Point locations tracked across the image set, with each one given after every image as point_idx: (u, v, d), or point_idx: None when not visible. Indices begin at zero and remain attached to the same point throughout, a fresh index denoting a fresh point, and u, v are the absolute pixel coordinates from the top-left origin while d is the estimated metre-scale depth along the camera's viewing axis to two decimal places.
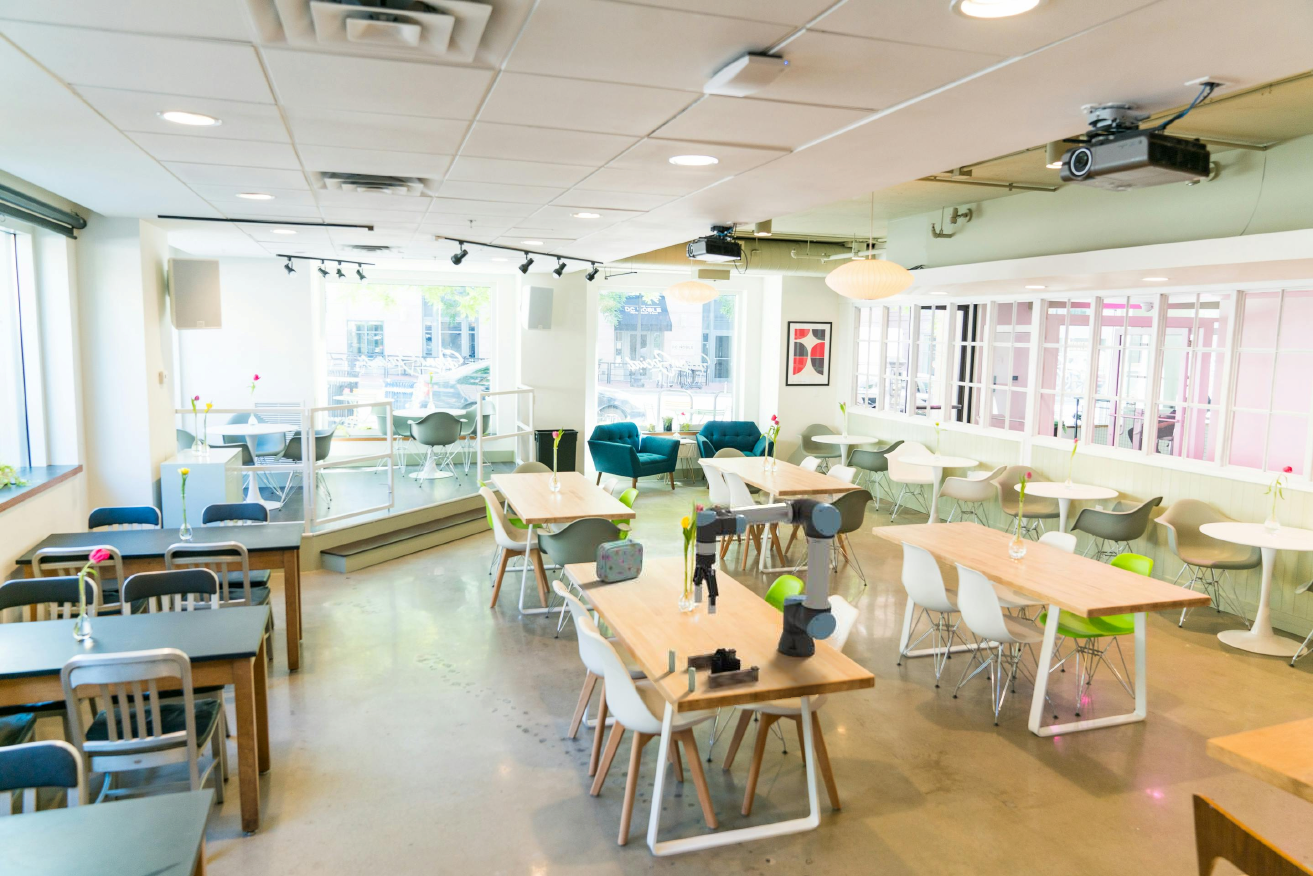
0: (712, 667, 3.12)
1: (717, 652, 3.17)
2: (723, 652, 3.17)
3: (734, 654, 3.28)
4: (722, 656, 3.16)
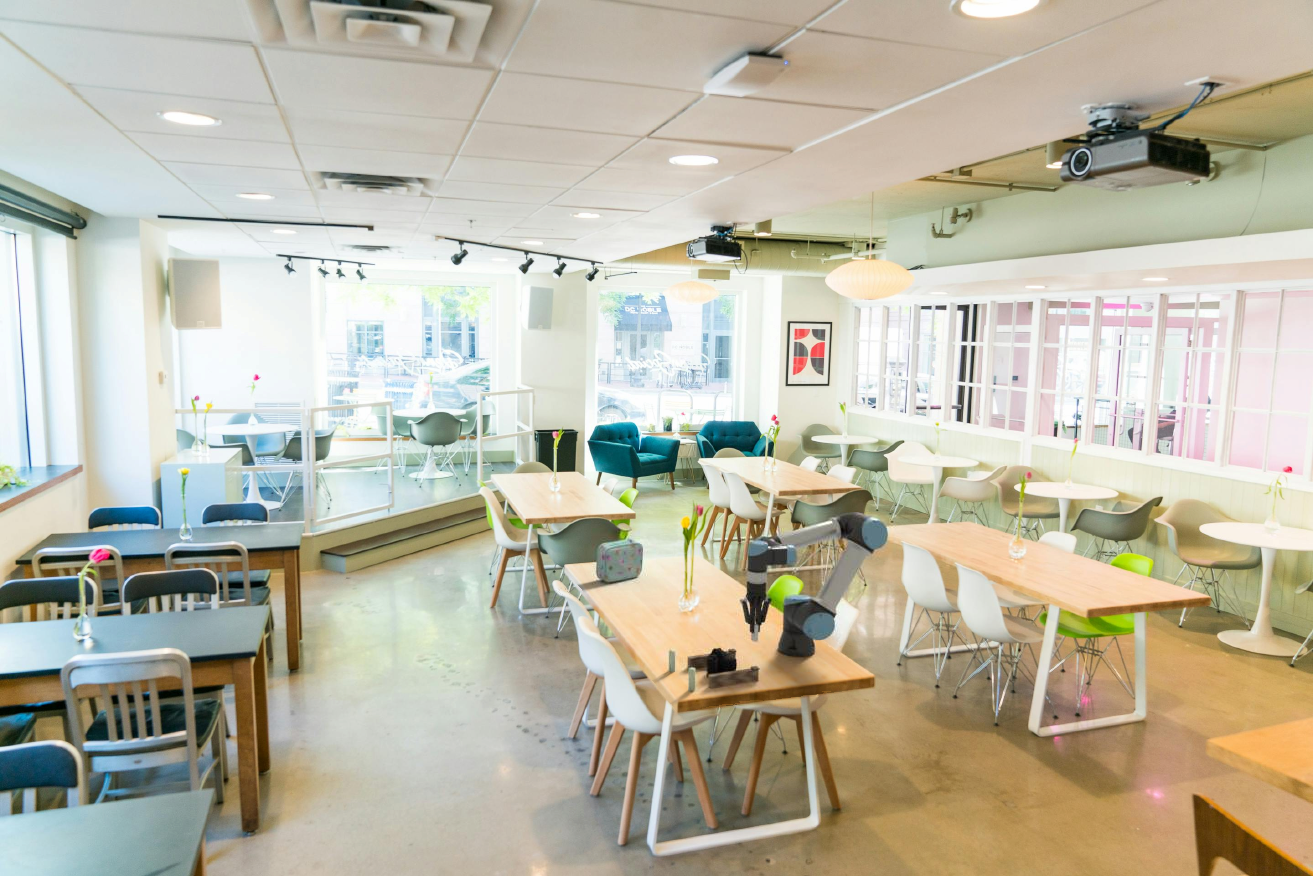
0: (708, 667, 3.12)
1: (713, 652, 3.18)
2: (719, 652, 3.17)
3: (734, 654, 3.28)
4: (718, 656, 3.16)
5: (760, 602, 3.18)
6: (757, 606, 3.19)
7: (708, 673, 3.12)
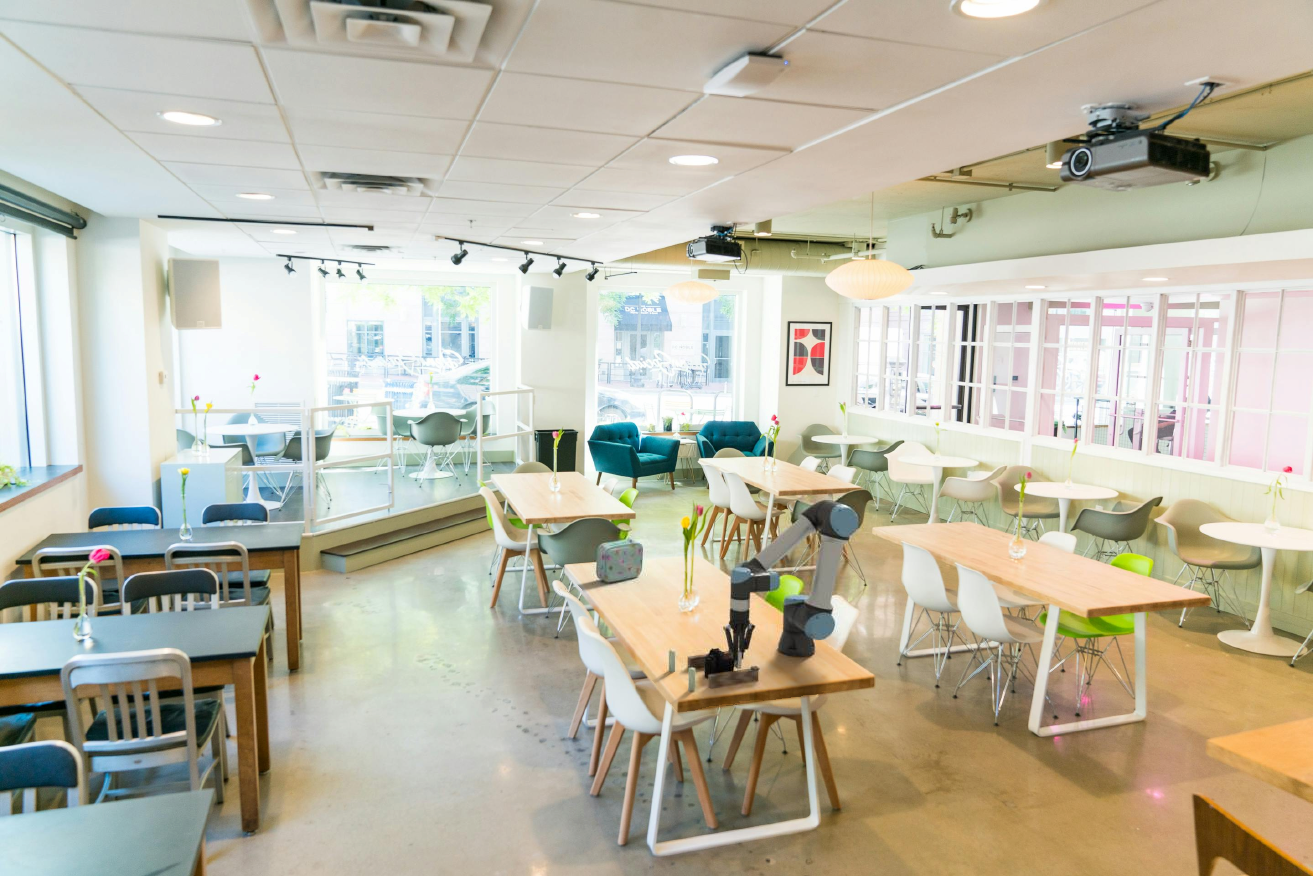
0: (706, 667, 3.12)
1: (711, 652, 3.18)
2: (717, 652, 3.17)
3: None
4: (716, 656, 3.16)
5: (743, 629, 3.16)
6: (740, 633, 3.18)
7: (706, 673, 3.12)
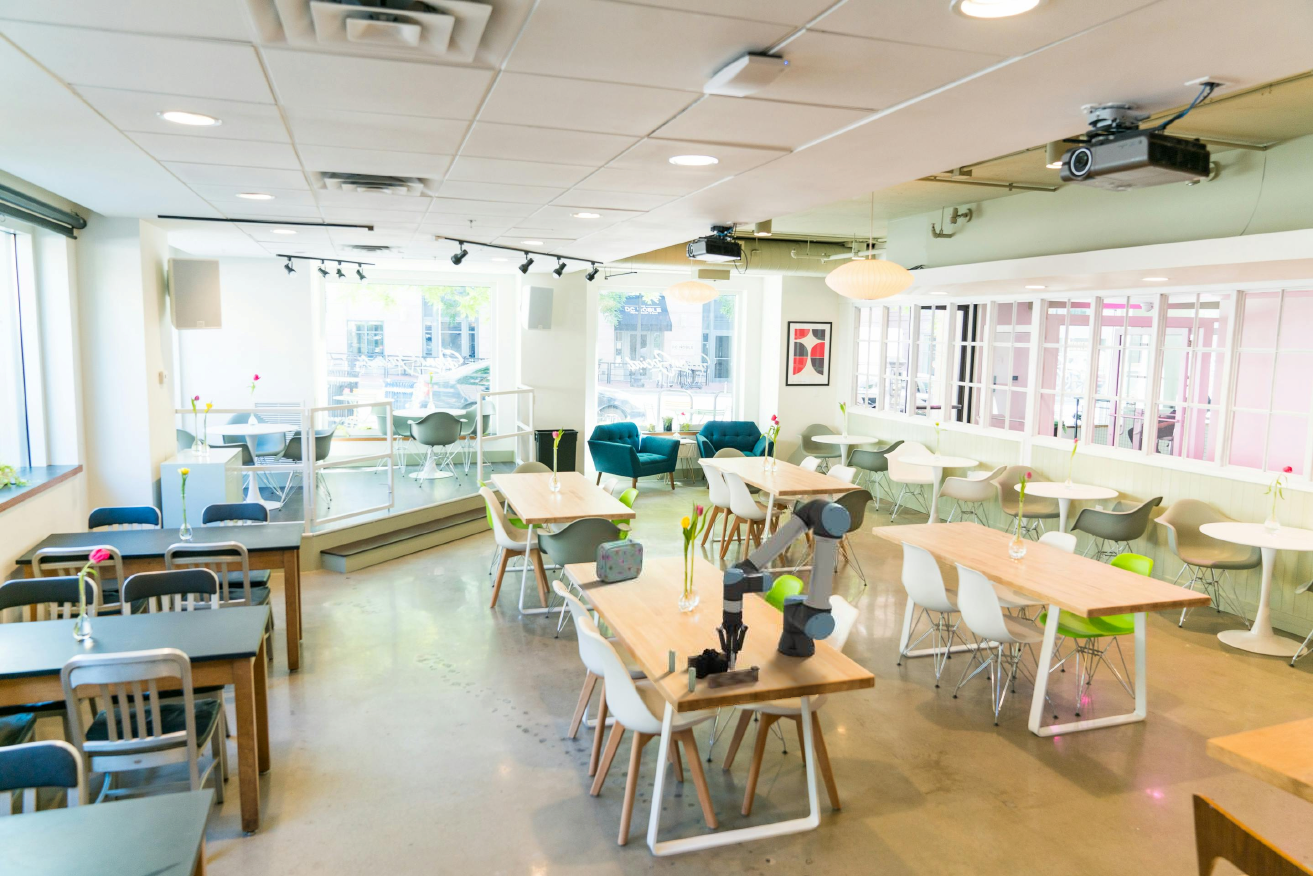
0: (696, 666, 3.12)
1: (704, 652, 3.17)
2: (710, 652, 3.16)
3: None
4: (708, 656, 3.16)
5: (736, 630, 3.15)
6: (733, 634, 3.17)
7: (696, 673, 3.13)
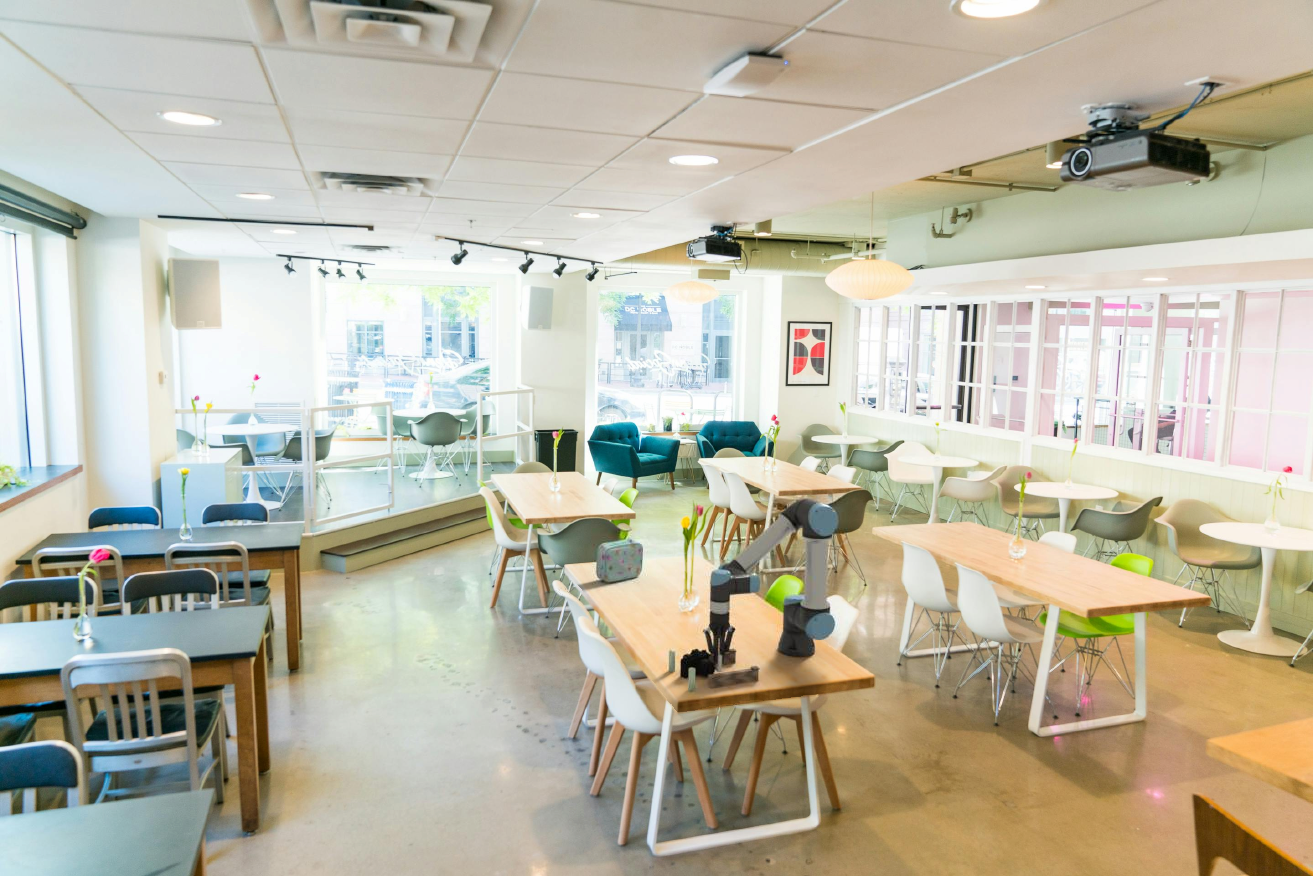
0: (680, 665, 3.13)
1: (692, 652, 3.17)
2: (697, 653, 3.16)
3: (734, 654, 3.28)
4: (695, 656, 3.15)
5: (723, 632, 3.13)
6: (720, 636, 3.15)
7: (680, 671, 3.13)
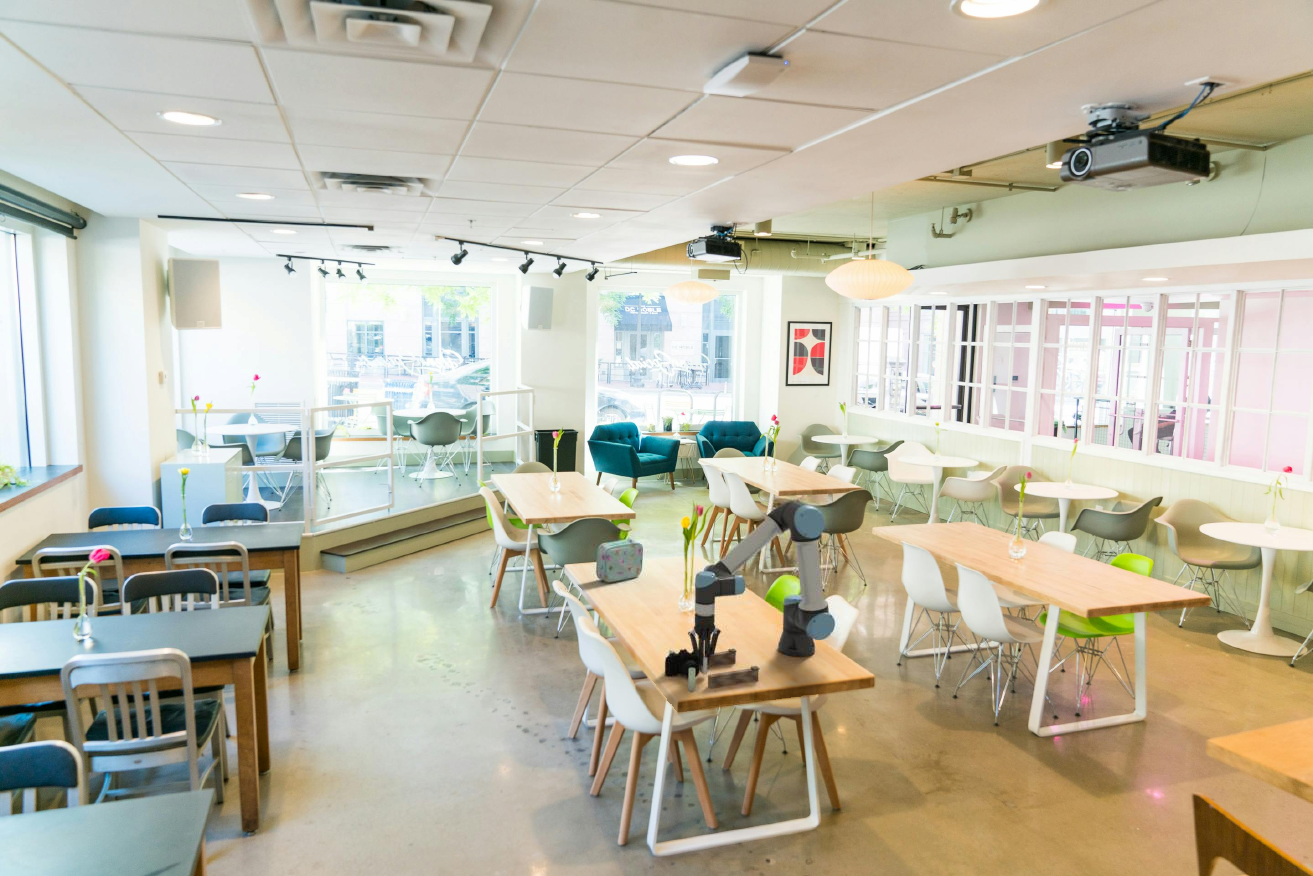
0: (665, 663, 3.15)
1: (680, 651, 3.17)
2: (683, 653, 3.15)
3: (734, 654, 3.28)
4: (680, 656, 3.15)
5: (708, 634, 3.11)
6: (706, 638, 3.12)
7: (665, 669, 3.15)
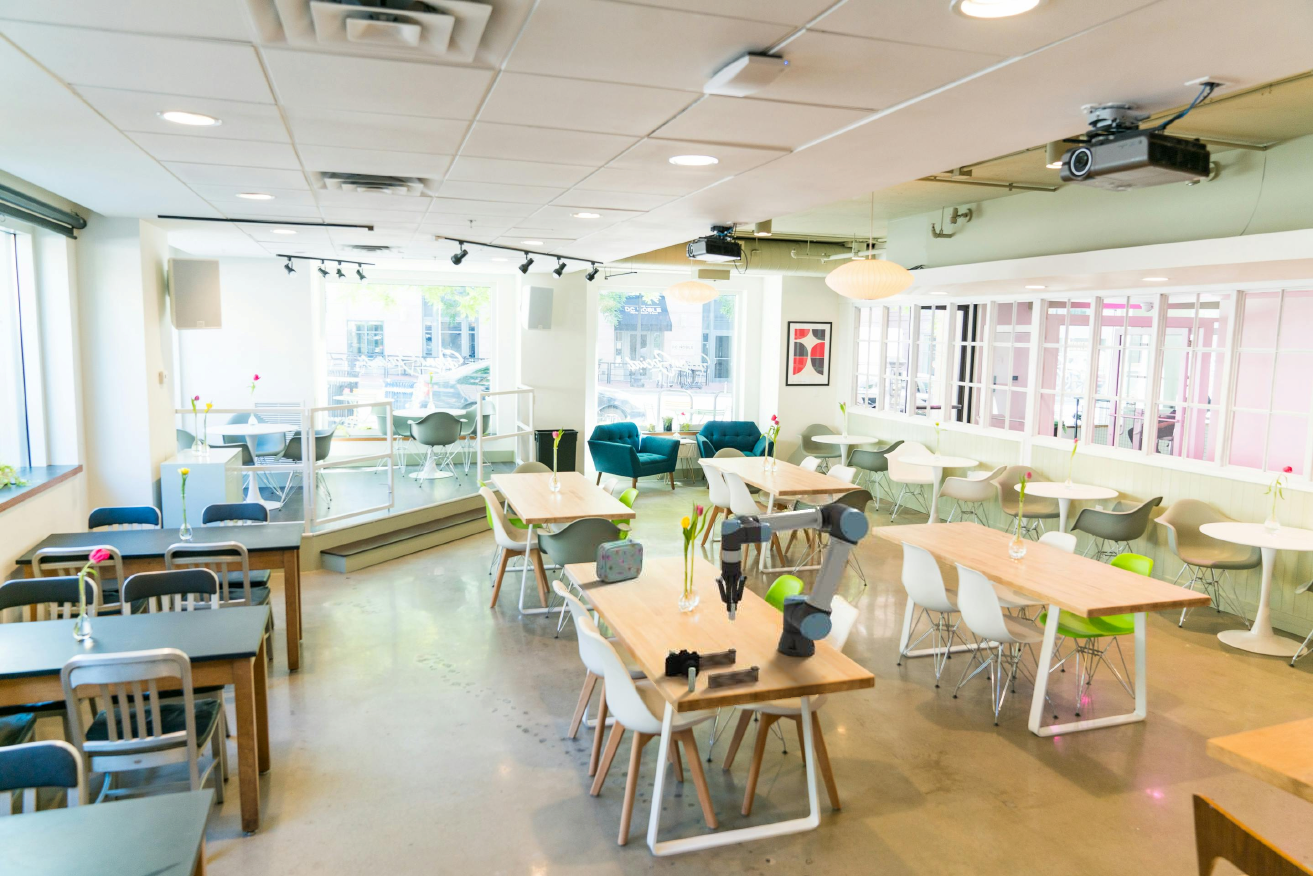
0: None
1: (680, 652, 3.17)
2: (683, 653, 3.15)
3: (734, 654, 3.28)
4: (681, 656, 3.15)
5: (736, 580, 3.16)
6: (733, 585, 3.18)
7: (665, 670, 3.15)
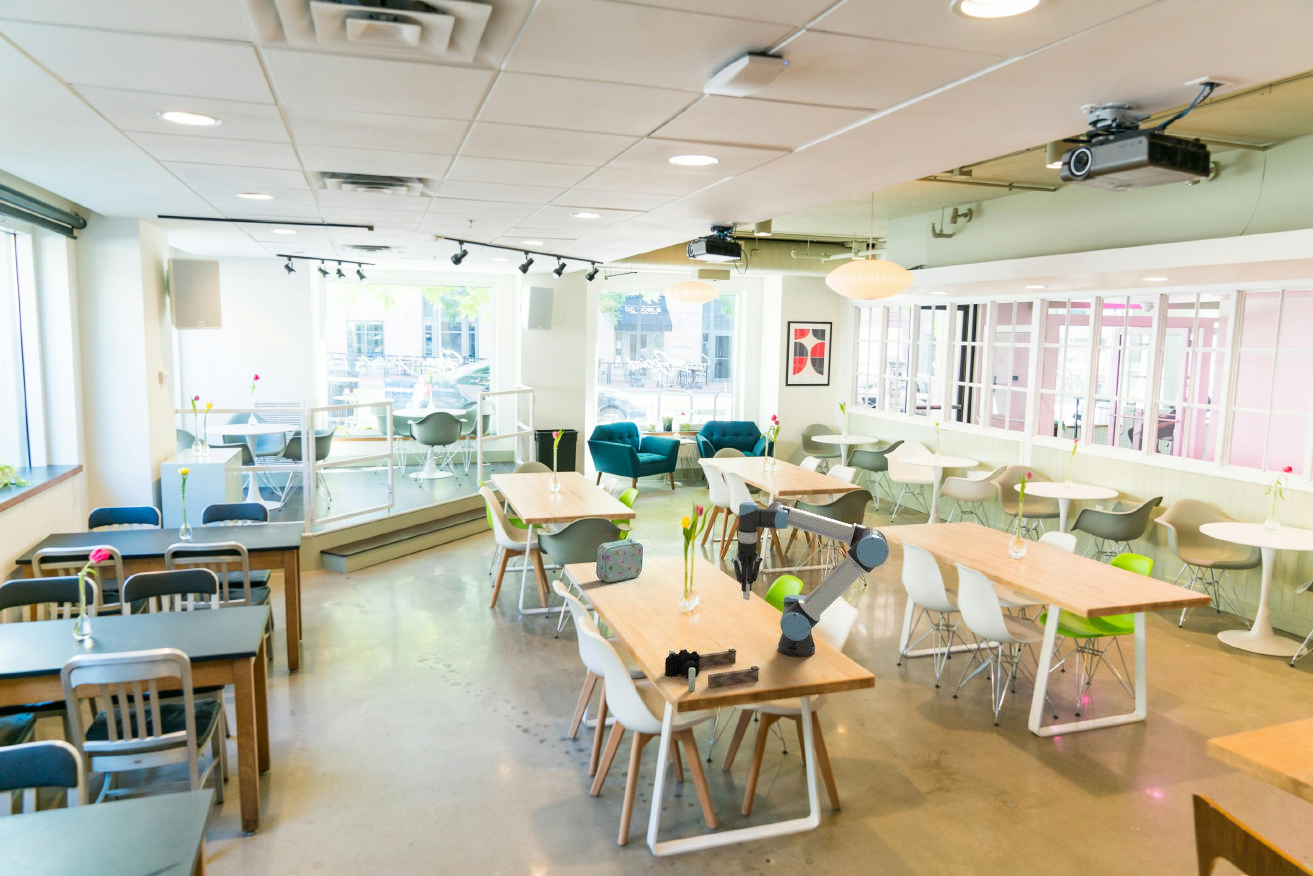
0: None
1: (680, 652, 3.17)
2: (683, 653, 3.15)
3: (734, 654, 3.28)
4: (681, 656, 3.15)
5: (751, 561, 3.28)
6: (748, 565, 3.30)
7: (665, 670, 3.15)
